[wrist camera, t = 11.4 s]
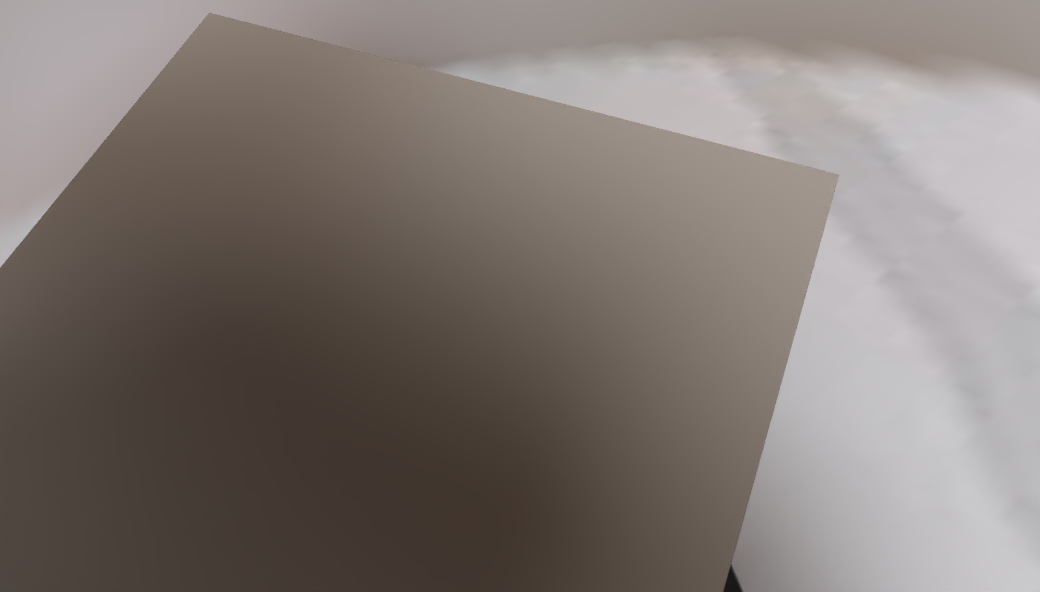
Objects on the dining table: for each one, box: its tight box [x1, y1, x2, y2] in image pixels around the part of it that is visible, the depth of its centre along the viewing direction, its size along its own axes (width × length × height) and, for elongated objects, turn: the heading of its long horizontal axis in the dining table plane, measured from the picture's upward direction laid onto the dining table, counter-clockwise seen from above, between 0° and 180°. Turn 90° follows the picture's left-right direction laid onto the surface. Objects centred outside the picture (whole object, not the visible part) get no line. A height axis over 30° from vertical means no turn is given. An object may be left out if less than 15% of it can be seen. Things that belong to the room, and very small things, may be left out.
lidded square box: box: [0, 13, 839, 592], centre depth 9 cm, size 6×6×12 cm
